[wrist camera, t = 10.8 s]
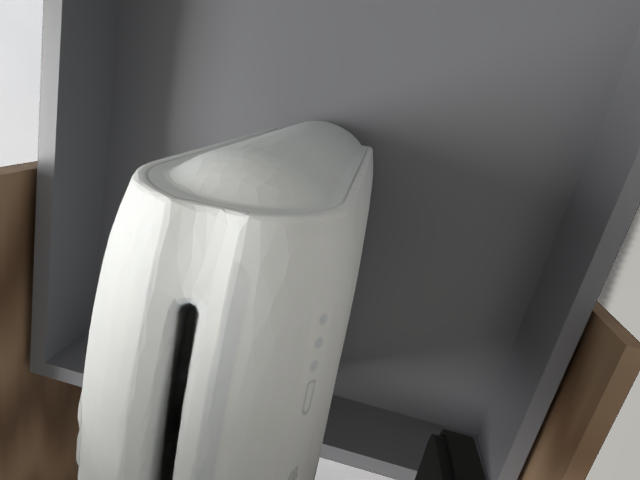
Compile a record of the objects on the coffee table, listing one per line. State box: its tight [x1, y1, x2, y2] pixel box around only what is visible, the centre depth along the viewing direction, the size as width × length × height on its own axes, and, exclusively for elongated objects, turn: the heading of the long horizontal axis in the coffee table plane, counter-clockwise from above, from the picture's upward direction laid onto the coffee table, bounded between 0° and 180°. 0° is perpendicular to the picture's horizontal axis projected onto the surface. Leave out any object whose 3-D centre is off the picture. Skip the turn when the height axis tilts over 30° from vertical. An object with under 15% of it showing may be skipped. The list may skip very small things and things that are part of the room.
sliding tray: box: [30, 0, 640, 480], centre depth 14 cm, size 20×20×9 cm
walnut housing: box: [0, 161, 640, 480], centre depth 19 cm, size 20×20×6 cm
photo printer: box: [76, 121, 373, 480], centre depth 12 cm, size 10×4×12 cm, turn 170°
